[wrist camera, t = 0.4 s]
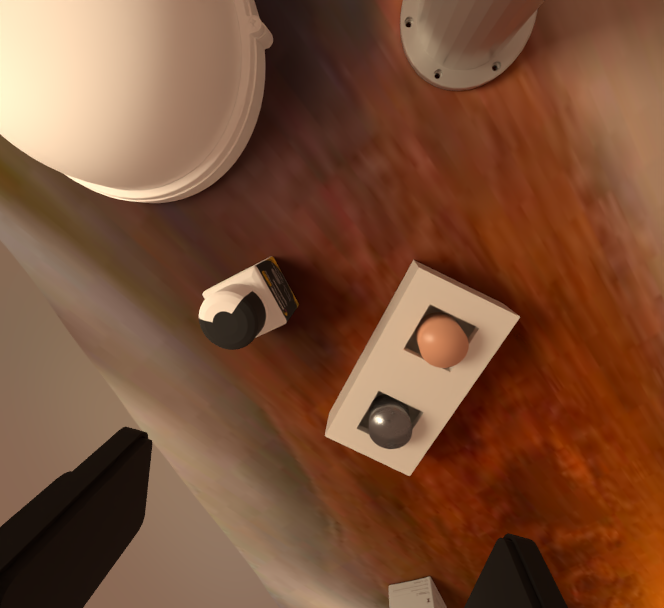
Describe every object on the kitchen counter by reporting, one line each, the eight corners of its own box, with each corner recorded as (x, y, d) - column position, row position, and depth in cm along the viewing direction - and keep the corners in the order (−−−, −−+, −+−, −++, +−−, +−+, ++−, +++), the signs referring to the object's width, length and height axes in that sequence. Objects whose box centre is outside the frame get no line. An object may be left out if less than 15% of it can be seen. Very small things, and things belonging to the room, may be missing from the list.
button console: (413, 259, 41) (418, 267, 36) (503, 303, 41) (520, 316, 36) (329, 412, 48) (324, 435, 44) (406, 449, 49) (409, 476, 44)
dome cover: (249, -148, 32) (162, -395, 19) (292, 187, 40) (253, 180, 27) (-37, -73, 37) (-273, -230, 23) (54, 215, 45) (-82, 222, 31)
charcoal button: (380, 387, 43) (380, 405, 39) (416, 404, 43) (420, 424, 39) (362, 417, 44) (361, 437, 41) (397, 434, 45) (399, 455, 41)
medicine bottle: (300, 305, 44) (274, 341, 33) (253, 326, 46) (214, 368, 34) (273, 255, 43) (237, 274, 31) (226, 279, 44) (175, 306, 33)
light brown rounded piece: (428, 304, 39) (434, 316, 35) (468, 323, 39) (478, 337, 36) (407, 340, 41) (411, 355, 37) (445, 359, 41) (452, 375, 37)
